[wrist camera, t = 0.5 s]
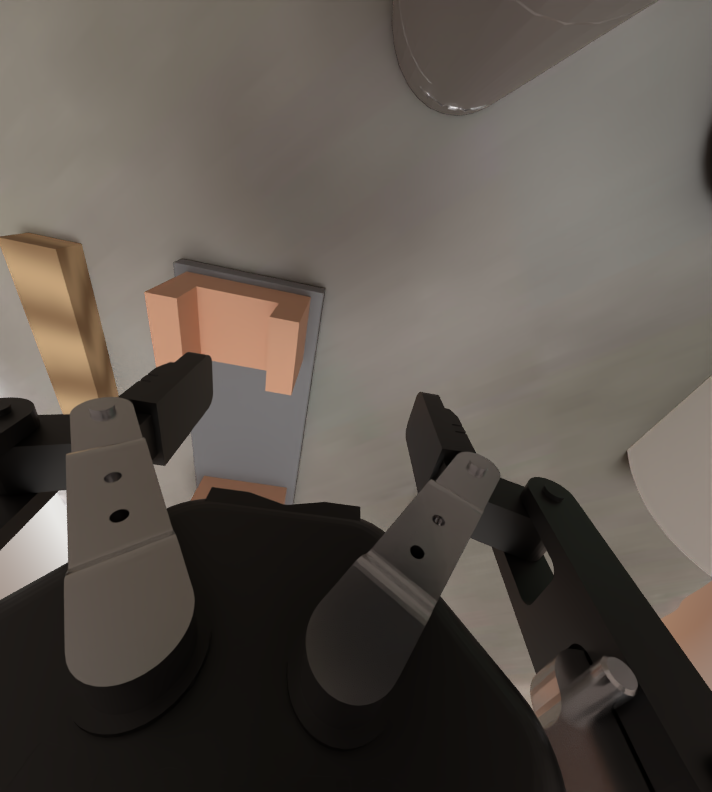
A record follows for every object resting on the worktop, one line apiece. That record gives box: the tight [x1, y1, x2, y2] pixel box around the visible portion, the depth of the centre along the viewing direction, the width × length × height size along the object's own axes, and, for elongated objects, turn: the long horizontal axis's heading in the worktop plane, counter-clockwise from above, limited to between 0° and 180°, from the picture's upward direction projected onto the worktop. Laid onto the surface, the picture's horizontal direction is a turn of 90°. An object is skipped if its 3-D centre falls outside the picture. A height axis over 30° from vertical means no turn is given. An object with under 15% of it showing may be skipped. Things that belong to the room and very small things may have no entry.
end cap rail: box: [144, 259, 325, 505], centre depth 31 cm, size 31×12×10 cm, turn 168°
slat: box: [0, 233, 119, 414], centre depth 31 cm, size 24×4×3 cm, turn 168°
